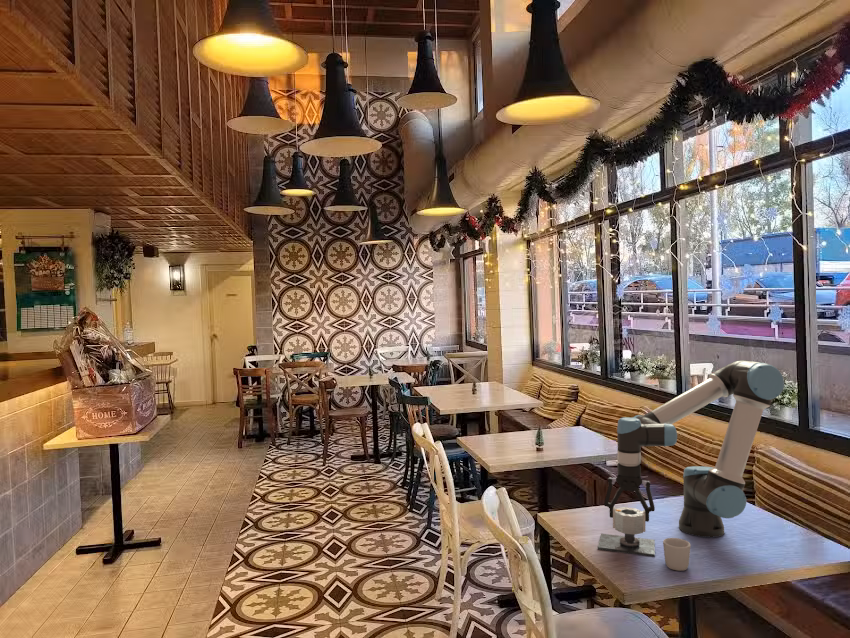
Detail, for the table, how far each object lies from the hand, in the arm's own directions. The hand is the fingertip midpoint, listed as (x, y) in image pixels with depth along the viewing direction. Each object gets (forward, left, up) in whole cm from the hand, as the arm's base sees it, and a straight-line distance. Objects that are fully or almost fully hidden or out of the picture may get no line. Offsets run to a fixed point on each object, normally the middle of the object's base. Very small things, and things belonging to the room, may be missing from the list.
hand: (629, 528), depth 204 cm
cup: (-14, +12, -6) cm, 19 cm away
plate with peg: (0, 0, -6) cm, 6 cm away
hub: (0, 0, 0) cm, 0 cm away
